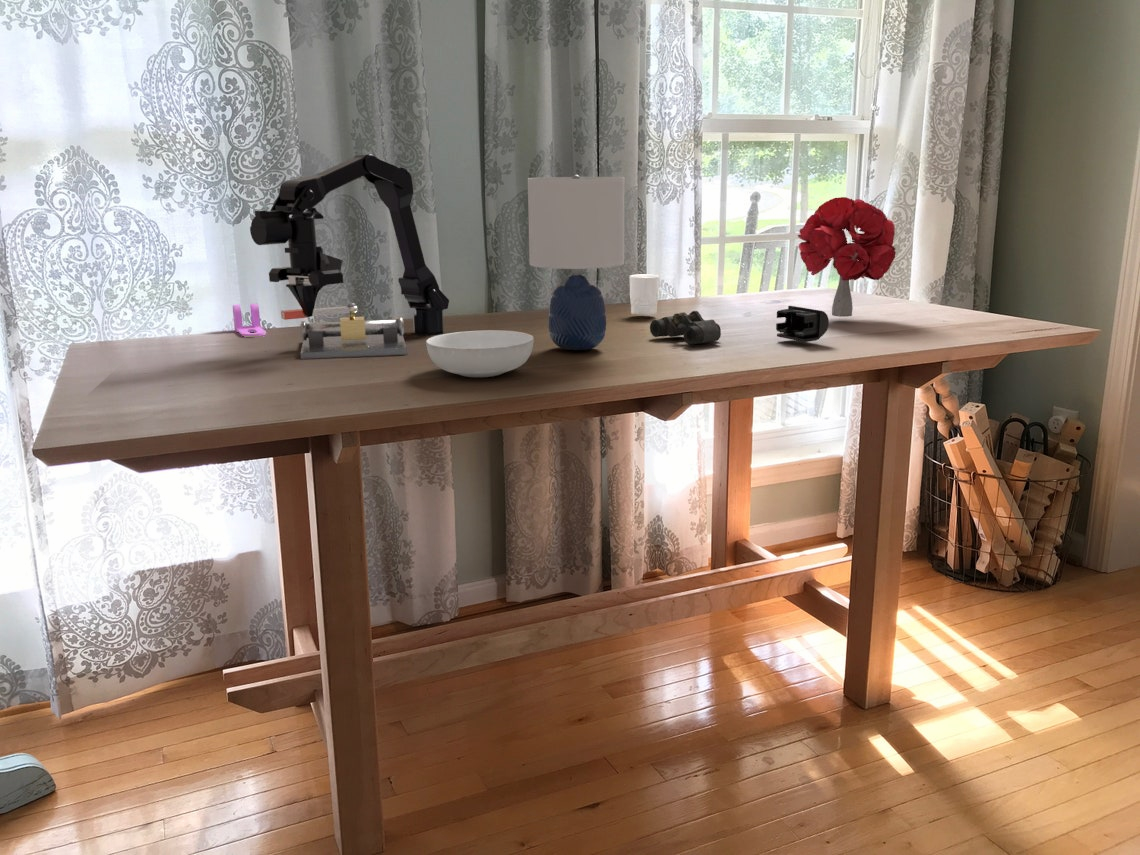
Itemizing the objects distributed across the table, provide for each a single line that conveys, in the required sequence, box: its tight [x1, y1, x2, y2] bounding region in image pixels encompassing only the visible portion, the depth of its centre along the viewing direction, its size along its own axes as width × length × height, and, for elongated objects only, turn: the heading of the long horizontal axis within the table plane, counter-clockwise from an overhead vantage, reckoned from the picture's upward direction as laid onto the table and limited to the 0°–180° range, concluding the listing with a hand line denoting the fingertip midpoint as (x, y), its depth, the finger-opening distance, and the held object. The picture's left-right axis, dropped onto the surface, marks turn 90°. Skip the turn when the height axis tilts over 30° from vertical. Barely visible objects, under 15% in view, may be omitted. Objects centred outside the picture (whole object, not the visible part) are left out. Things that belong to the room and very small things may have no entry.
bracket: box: [232, 302, 267, 336], centre depth 232 cm, size 13×6×7 cm, turn 27°
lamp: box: [527, 174, 625, 351], centre depth 208 cm, size 20×20×37 cm
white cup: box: [629, 273, 660, 316], centre depth 257 cm, size 8×8×10 cm
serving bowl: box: [425, 329, 535, 378], centre depth 188 cm, size 21×21×7 cm
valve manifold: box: [300, 312, 408, 360], centre depth 213 cm, size 22×20×8 cm
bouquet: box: [797, 196, 897, 318], centre depth 248 cm, size 22×24×30 cm
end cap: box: [775, 305, 830, 343], centre depth 221 cm, size 10×7×7 cm
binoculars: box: [649, 310, 722, 345], centre depth 223 cm, size 11×16×6 cm
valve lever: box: [280, 302, 359, 321], centre depth 208 cm, size 16×3×2 cm, turn 121°
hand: (309, 316), depth 205 cm, fingers closed
